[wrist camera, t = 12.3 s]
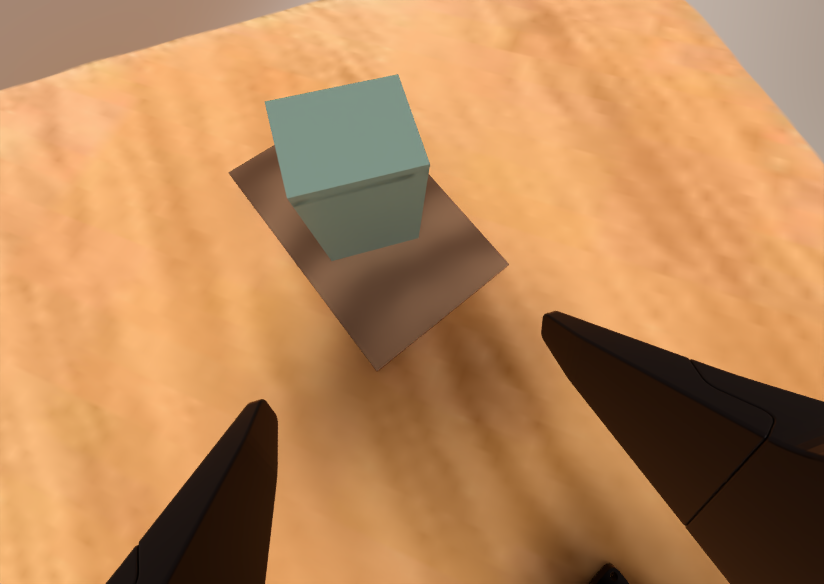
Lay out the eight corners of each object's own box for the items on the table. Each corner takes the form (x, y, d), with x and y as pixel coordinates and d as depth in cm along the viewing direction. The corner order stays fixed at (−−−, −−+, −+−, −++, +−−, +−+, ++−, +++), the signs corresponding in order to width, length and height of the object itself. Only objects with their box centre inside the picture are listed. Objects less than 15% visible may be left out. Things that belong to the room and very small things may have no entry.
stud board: (502, 270, 24) (529, 247, 19) (378, 370, 22) (371, 374, 17) (360, 109, 27) (351, 52, 22) (238, 183, 25) (197, 139, 20)
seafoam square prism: (418, 238, 23) (429, 164, 14) (331, 261, 22) (286, 198, 13) (398, 177, 24) (398, 74, 15) (315, 197, 23) (264, 101, 15)
